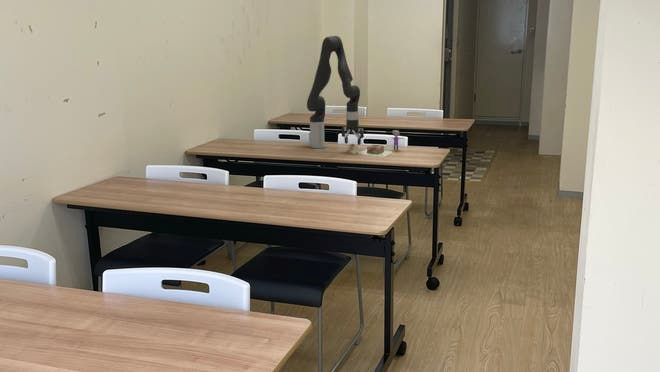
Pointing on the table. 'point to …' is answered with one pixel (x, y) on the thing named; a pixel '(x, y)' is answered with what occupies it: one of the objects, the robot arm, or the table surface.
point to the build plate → (376, 154)
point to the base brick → (375, 149)
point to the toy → (396, 139)
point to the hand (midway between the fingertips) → (352, 144)
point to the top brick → (352, 148)
